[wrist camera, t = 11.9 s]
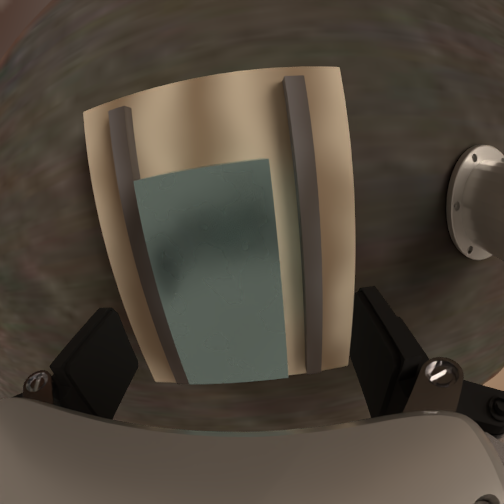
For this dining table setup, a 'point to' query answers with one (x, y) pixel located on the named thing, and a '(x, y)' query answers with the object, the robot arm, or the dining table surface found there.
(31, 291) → the dining table surface
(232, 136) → the stand
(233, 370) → the housing
